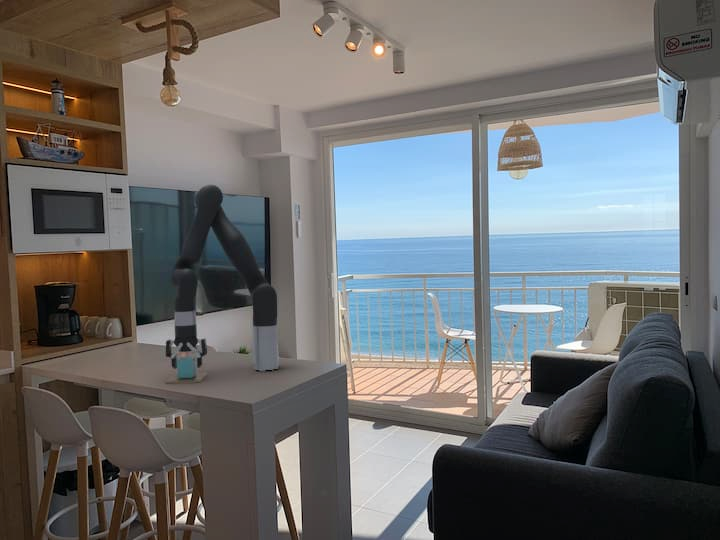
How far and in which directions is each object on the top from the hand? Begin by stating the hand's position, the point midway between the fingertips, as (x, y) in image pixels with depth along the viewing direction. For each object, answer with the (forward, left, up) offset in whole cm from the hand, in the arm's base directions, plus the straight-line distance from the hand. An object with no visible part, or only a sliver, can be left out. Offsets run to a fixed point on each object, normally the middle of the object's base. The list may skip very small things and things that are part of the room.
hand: (187, 367), depth 192 cm
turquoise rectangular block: (0, 0, -3) cm, 3 cm away
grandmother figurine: (+7, -22, -4) cm, 23 cm away
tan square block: (0, 0, -4) cm, 4 cm away
